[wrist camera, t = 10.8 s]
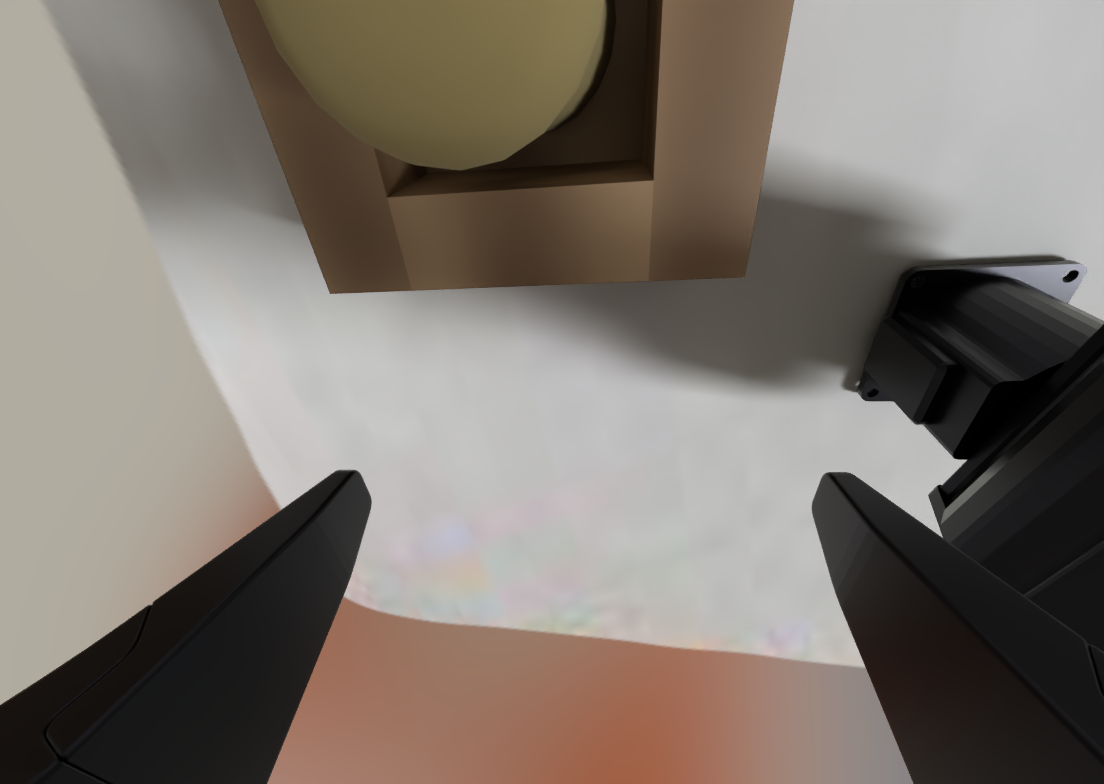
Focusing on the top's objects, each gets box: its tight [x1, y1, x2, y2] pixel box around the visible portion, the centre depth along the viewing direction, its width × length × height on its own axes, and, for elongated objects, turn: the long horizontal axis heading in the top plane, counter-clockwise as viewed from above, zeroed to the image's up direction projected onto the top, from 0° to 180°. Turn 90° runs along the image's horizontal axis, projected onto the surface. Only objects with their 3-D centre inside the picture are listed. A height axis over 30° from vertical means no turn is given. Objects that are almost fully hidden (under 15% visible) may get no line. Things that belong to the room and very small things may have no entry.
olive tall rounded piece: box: [255, 0, 616, 171], centre depth 10 cm, size 6×6×11 cm
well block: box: [219, 0, 794, 294], centre depth 13 cm, size 14×14×5 cm
